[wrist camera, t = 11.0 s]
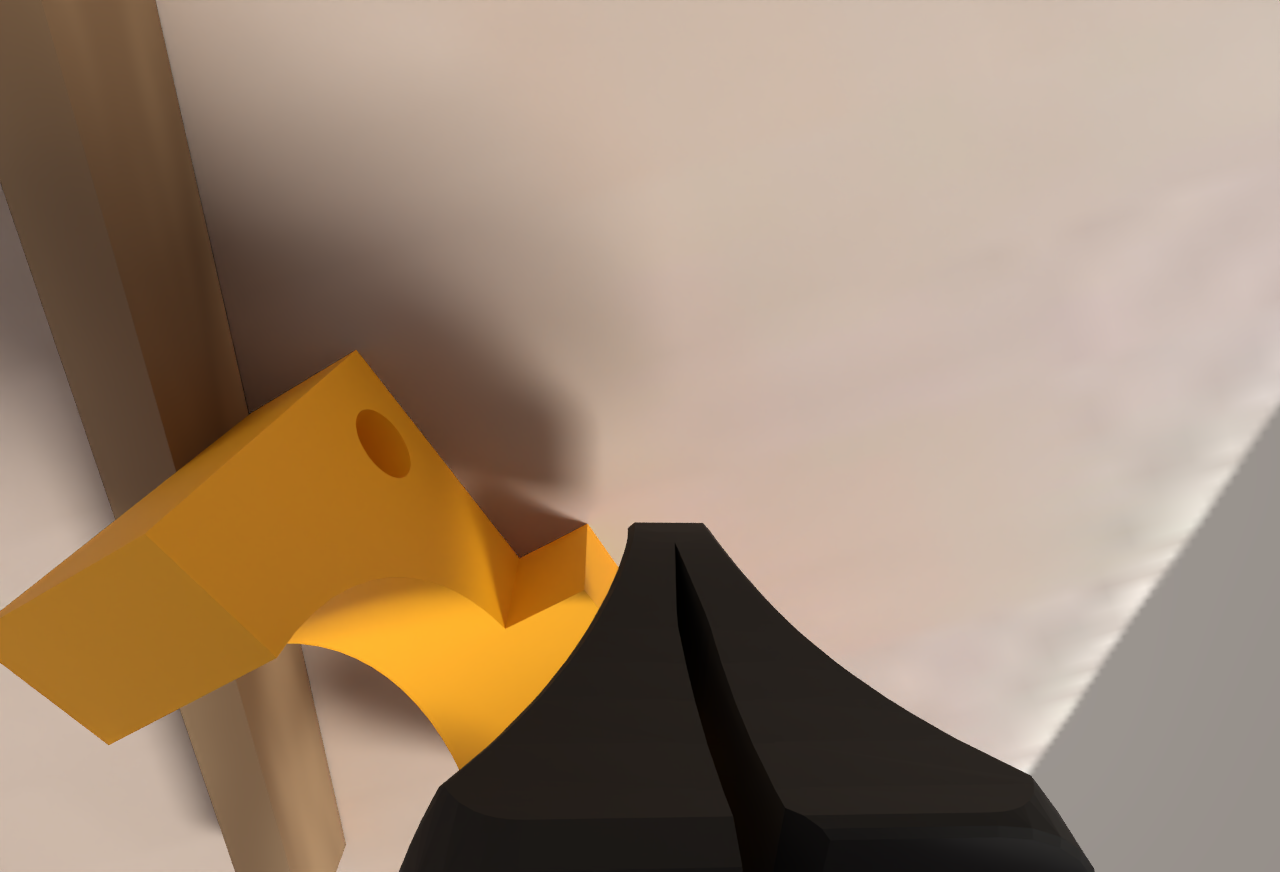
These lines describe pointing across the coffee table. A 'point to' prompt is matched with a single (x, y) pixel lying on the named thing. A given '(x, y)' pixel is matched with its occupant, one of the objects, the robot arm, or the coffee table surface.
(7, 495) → the coffee table surface
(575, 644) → the pipe clamp
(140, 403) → the rail
